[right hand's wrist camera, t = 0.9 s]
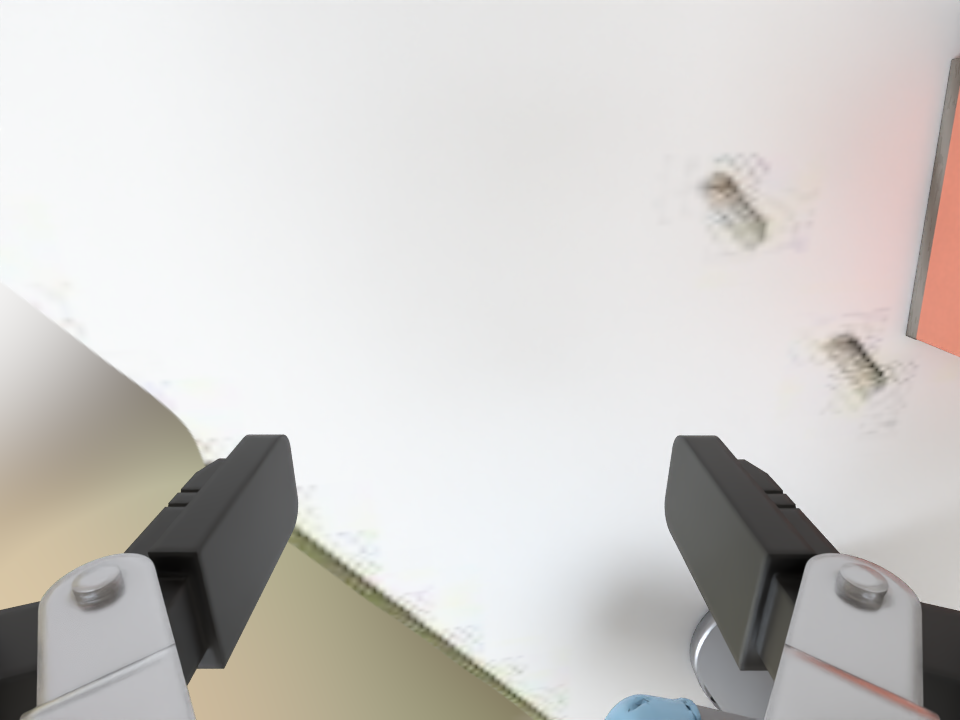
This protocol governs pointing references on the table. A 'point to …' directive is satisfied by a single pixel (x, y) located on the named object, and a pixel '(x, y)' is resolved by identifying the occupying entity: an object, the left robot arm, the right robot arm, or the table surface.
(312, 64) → the table surface
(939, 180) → the cabinet
